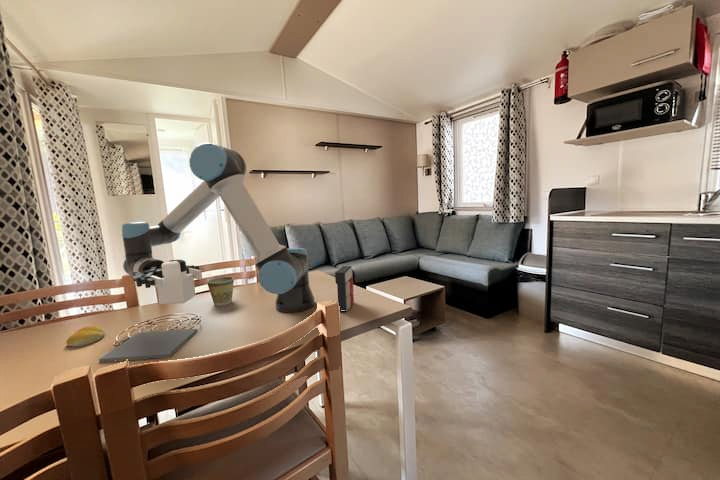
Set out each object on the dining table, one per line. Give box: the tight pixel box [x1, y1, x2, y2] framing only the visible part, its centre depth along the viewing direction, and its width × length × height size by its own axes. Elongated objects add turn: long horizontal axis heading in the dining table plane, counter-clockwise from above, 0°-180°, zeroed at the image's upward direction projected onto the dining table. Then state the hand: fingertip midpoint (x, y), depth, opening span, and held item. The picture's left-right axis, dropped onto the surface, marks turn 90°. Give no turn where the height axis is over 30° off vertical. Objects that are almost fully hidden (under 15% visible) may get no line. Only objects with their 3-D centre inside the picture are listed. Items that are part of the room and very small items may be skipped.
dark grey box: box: [334, 265, 355, 311], centre depth 112 cm, size 11×4×15 cm, turn 168°
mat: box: [98, 328, 198, 363], centre depth 87 cm, size 18×16×1 cm
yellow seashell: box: [65, 325, 106, 348], centre depth 92 cm, size 8×9×4 cm
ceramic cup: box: [206, 276, 235, 307], centre depth 123 cm, size 13×10×10 cm
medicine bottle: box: [156, 259, 196, 305], centre depth 87 cm, size 7×7×12 cm
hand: (181, 279), depth 84 cm, fingers closed on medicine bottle, 10 cm apart
